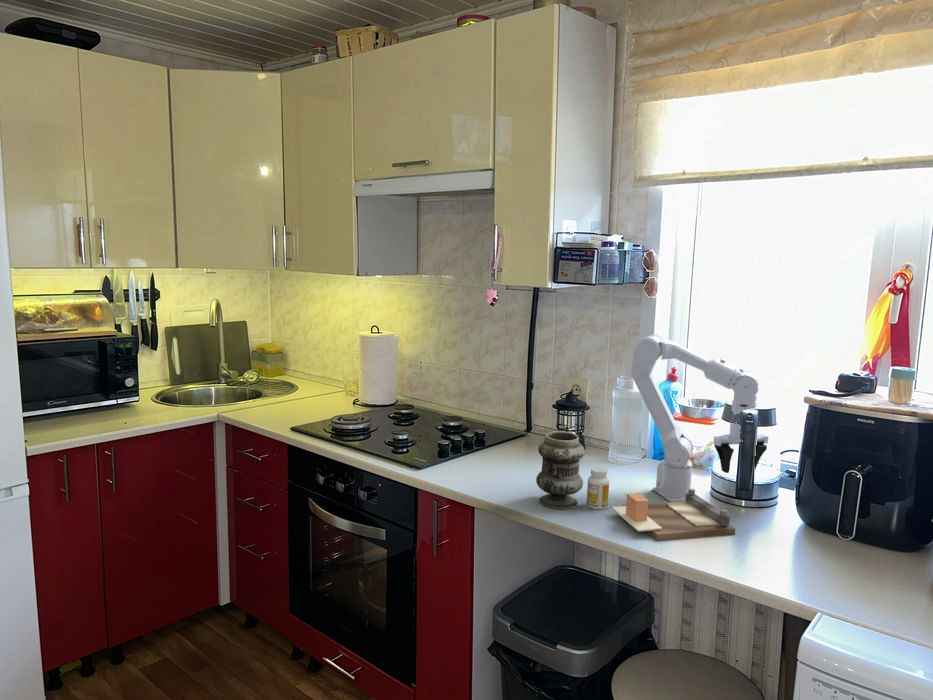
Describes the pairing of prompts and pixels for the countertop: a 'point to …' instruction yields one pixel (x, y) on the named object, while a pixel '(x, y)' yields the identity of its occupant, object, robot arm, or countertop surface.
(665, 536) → the ticket board
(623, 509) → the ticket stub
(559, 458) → the apothecary jar
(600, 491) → the supplement bottle
